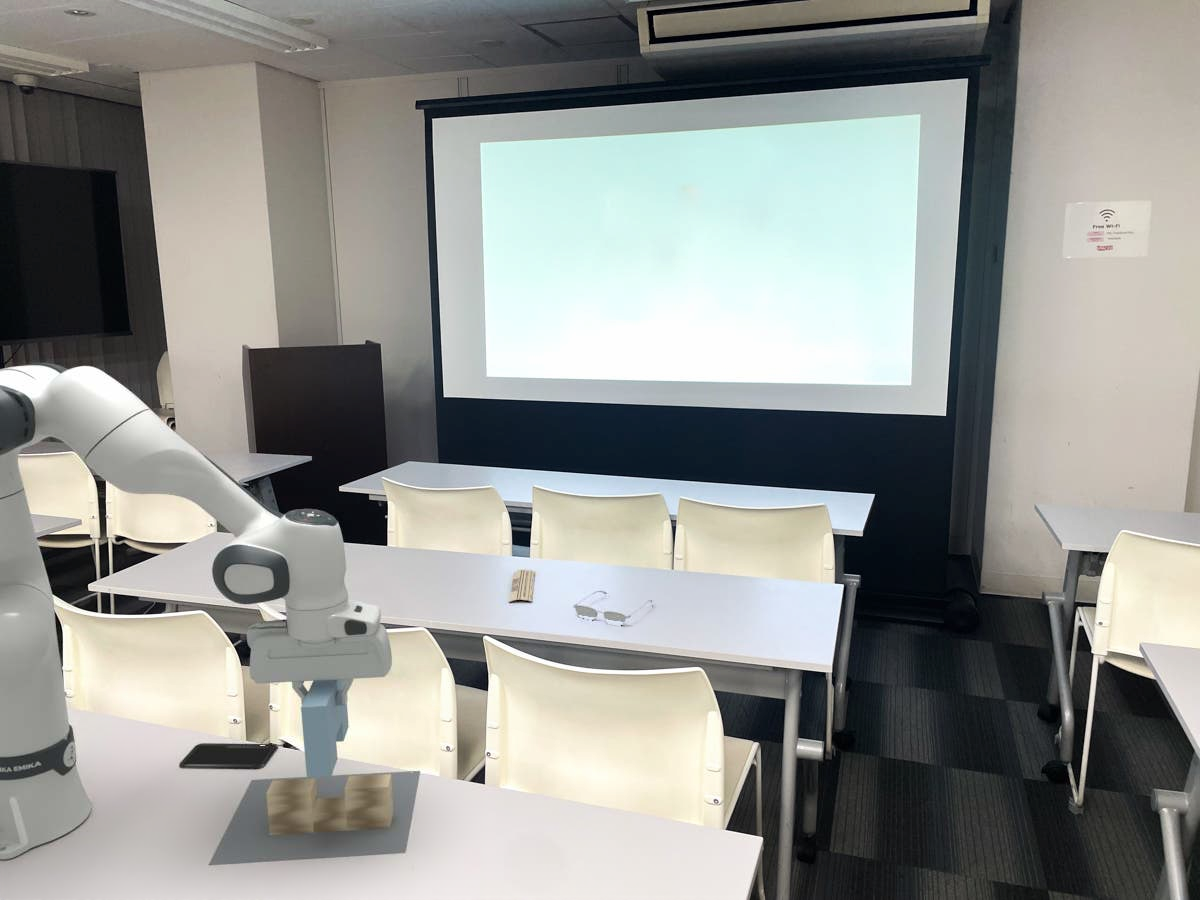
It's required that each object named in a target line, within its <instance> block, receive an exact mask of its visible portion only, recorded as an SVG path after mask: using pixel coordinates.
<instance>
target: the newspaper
mask: <svg viewBox="0 0 1200 900" xmlns="http://www.w3.org/2000/svg"><path fill="white" fill-rule="evenodd" d="M534 576H535V577H536V571H535V570H531V569H518V570H516V571H514V572H513V576H512V584H511V587H510V593H509V600H508V603H510V602H513V601H517V600H519V601H520V600H522V601H528V602H529V603H530V602H531V603H533V597H532V595H533V596H534V588H533V586H534V585H535V579H534ZM534 587H535V586H534Z"/></svg>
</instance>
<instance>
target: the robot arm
mask: <svg viewBox="0 0 1200 900" xmlns="http://www.w3.org/2000/svg"><path fill="white" fill-rule="evenodd" d="M49 437H50V438H54V439H57V440H60V441H61V442H63V443H64V444H66V446H68V447H69V448H70V449H71V450H73V452H75V454H77V455H78V457H80V459H81V460H82V461H83V462H85V463H86V465H88V466H89V467H90V468H91V469H92V470H93V471H94V472H95V473H96V474H97V475H98V476H99V477H100V478H102V479H103V480H104V481H106V482H108V483H109V484H110V485H112V486H114V487H115V488H116V489H119V490H120V491H122V492H124V493H129V494H137V495H155V494H156V495H169V496H176V497H178V498H179V497H180V498H184V499H185V500H188V501H191V502H192V503H194V504H196V505H197V506H198V507H200V508H201V509H202V510H204V512H206V513H207V514H209V516H211V517H212V518H213V519H214V520H216V521H217V522H218V523H219V524H220V525H221V526H223V527H224V528H225V529H226V530H228V531H229V532H230V533H231V534H232V535H233V536H234V537H235V538H234V539H233V540H231V541H229V543H227V544H226V545H225V546H224V547H223V548H222V549H221V550H220V551H219V552H218V553H217V555H216V556H215V557H214V560H213V562H212V568H211V574H212V579H213V583H214V584H215V586H216V588H217V590H218V591H219V592H220V593H221V594H222V596H223V597H224V598H226V599H227V600H229V601H231V602H232V603H233V602H234V603H236V604H239V605H253V604H254V605H255V604H260V603H267V602H271V601H277V600H278V599H279V600H280V599H283V600H284V603H285V615H286V616H285V617H286V618H285V619H274V620H273V619H272V620H263V619H262V620H258V621H256V622H255V623H253V624H251V625H250V626H249V627H248V629H247V630H246V640H247V641H246V643H247V645H248V647H249V648H250V657H249V675H250V676H249V677H250V679H251V680H252V681H253V682H254V683H255V684H259V685H260V684H275V683H276V684H277V683H291V687H292V689H293V691H294V692H295V693H296V694H297V696H298V697H299V698H300V700H301V705H302V704H303V702H304V700H305V698H306V695H307V693H308V691H309V690H308V688H307V687H305V685H304V683H305V682H311V681H312V682H313V681H317V680H337V679H341V680H342V685H345V686H344V688H343V690H337V692H336V695H335V700H336V706H339V705H346V704H347V705H348V699H349V697H348V692H349V690H350V688H351V686H352V684H353V681H354V679H373V678H376V679H377V678H384V677H386V676H387V675H388V674H389V672H391V668H392V665H393V657H392V655H393V654H392V649H391V648H392V647H391V643H390V642H391V641H390V637H389V634H388V632H387V629H386V627H385V626H384V625H383V624H382V623H380V622H381V617H382V614H381V608H380V607H379V606H377V605H374V604H369V603H366V602H362V601H359V600H354V599H352V598H349V592H348V590H347V589H348V588H347V587H346V584H345V576H346V571H347V562H346V561H347V560H346V552H345V544H344V538H343V534H342V530H341V527H340V524H339V521H338V520H337V519H336V518H335V516H333V515H331V514H330V513H328V512H326V511H324V510H319V509H314V508H313V509H312V508H303V509H298V508H297V509H293V510H289V511H287V512H286V513H281V512H279V511H277V510H275V509H272V508H270V507H269V506H268V505H267V504H265V503H263V502H262V501H260V500H259V499H258V498H257V497H256V496H254V494H252V493H251V492H250V491H249V490H248V489H247V488H245V487H244V486H243V485H242V484H240V483H239V482H238V481H237V480H236V479H234V478H233V477H232V476H231V475H230V474H229V473H227V472H226V471H225V470H224V469H222V468H221V467H220V466H219V465H217V464H216V462H214V461H212V459H210V458H209V457H208V456H206V455H205V454H203V452H201V451H200V450H198V449H196V448H195V447H194V446H192V445H191V444H189V443H188V442H187V441H186V440H184V438H182V437H181V436H180V435H179V434H178V433H176V432H175V431H174V430H173V429H172V428H170V426H169V425H167V424H166V422H164V421H163V420H162V419H161V418H160V417H159V416H158V415H157V414H156V413H155V412H154V411H153V410H152V409H151V408H150V407H149V406H148V405H147V404H146V403H144V401H142V400H141V399H140V398H139V397H138V396H137V395H136V394H135V393H133V391H130V390H129V389H128V388H127V387H125V386H124V385H123V384H121V383H120V382H119V381H118V380H116V379H115V378H113V377H112V376H111V375H108V374H107V373H106V372H104V371H103V370H101V369H99V368H97V367H94V366H90V365H81V366H76V367H72V368H66V367H64V366H62V365H60V364H59V365H58V364H54V363H49V362H32V363H29V364H25V365H17V366H10V367H4V368H0V860H10V859H12V858H15V857H17V856H20V855H21V854H24V853H25V852H27V851H29V850H30V849H33V848H35V847H37V846H40V845H43V844H46V843H48V842H51V841H54V840H56V839H58V838H60V837H62V836H64V835H66V834H68V833H70V832H71V831H73V830H74V829H76V828H77V827H78V826H80V825H81V824H82V823H83V822H84V821H86V819H87V818H88V817H89V816H90V813H91V811H92V808H93V804H92V802H91V800H90V798H89V797H88V795H87V793H86V791H85V787H84V785H83V783H82V780H81V778H80V774H79V773H80V772H79V770H78V767H77V749H76V741H75V735H74V728H73V727H72V725H71V724H70V722H69V716H68V715H69V714H68V707H67V699H66V698H67V697H66V692H65V683H64V677H63V670H62V664H61V658H60V650H59V642H58V635H57V634H58V633H57V627H56V615H55V612H56V611H55V601H54V595H53V592H52V588H51V585H50V584H51V583H50V580H49V576H48V573H47V570H46V566H45V562H44V559H43V555H42V552H41V548H40V546H39V543H38V538H37V535H36V531H35V530H36V529H35V526H34V523H33V519H32V514H31V510H30V507H29V503H28V499H27V494H26V491H25V487H24V482H23V480H22V479H23V478H22V475H21V472H20V468H19V467H20V466H19V454H20V453H21V450H22V449H24V448H27V447H28V448H29V447H31V446H33V445H35V444H38V443H39V442H41V441H42V440H44V439H47V438H49Z"/></svg>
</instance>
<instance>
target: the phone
mask: <svg viewBox="0 0 1200 900" xmlns="http://www.w3.org/2000/svg"><path fill="white" fill-rule="evenodd" d="M260 745H265V746H260ZM278 746H279V745H277V744H276V743H226V742H225V743H224V742H223V743H219V742H218V743H217V742H214V743H213V742H211V743H210V742H206V743H204V742H202V743H197V744H196V745H195V746H194V747H193V748H192V749H191V750H190V751H189V753H187V755H186V756H185V757H184V758H183V759H182V760H181V761H179V764H178V765H179V768H180V769H185V770H186V769H194V770H195V769H198V770H208V769H209V770H261V769H264V768H265V767H266V766H267V764H268V763H269V762H270V761H271V759H272V758H273V756H274V755H275V753H276V752H277V751H278V748H279V747H278Z"/></svg>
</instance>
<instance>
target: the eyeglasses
mask: <svg viewBox="0 0 1200 900" xmlns="http://www.w3.org/2000/svg"><path fill="white" fill-rule="evenodd" d="M596 593H602V594H604V595H605V594H607V593H608V592H606V591H604V590H596V591H594V592H593V593H591V594H589V595H588V596H586V597H585V598H583V599H582V600H580V601H579V602H577V603H575V604H573V606H572V607H573V608H574V609H575V612H576V614H577V616H578V615H582V616H588V617H595V618H596V617H598V613H601V614H603V618H604V620H605V619H608V620H613V621H621V622H624V623H625V621H626V620H627V619H629V618H631V616H632V615H634V614H635V613H637V611H639V610H640V609H641V608H642V607H644V606H645V605H647V604H648V602H651V603H652V601H653V600H652V599H648V600H647V601H645V603H644V604H643V605H642V606H641V607H639V608H638V609H636V610H635V611H633V613H631V614H628V615H625V614H623V613H621V612H618V611H617V612H616V611H611V610H607V611H601V610H597V609H595V608H593V607H590V606H587V605H581V604H580V603H581V602H583V601H584V600H586V599H587V598H588V597H590V596H592V595H594V594H596Z"/></svg>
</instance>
